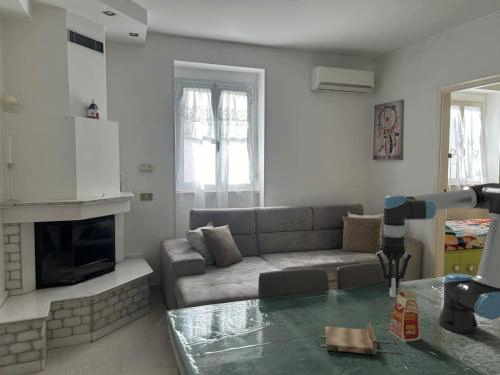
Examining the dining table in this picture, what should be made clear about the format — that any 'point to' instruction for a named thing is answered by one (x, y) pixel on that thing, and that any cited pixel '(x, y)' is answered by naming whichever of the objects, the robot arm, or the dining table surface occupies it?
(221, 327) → the dining table surface
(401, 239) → the robot arm
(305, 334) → the dining table surface
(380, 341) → the rails
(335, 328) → the cart
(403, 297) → the milk carton
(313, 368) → the dining table surface
